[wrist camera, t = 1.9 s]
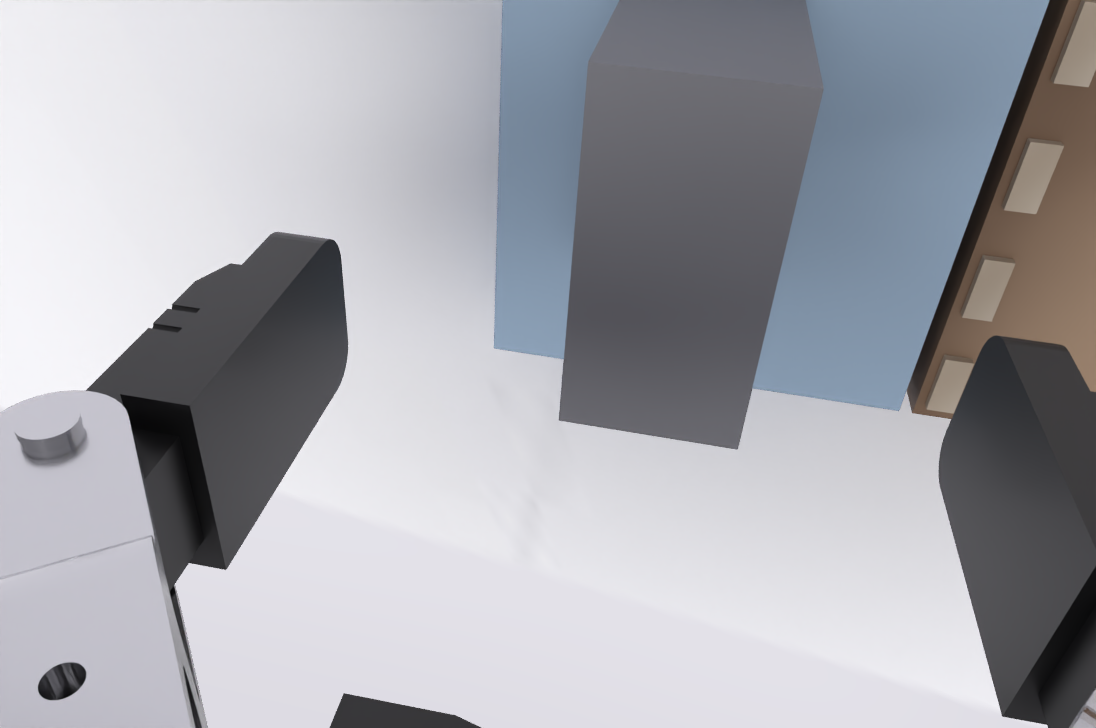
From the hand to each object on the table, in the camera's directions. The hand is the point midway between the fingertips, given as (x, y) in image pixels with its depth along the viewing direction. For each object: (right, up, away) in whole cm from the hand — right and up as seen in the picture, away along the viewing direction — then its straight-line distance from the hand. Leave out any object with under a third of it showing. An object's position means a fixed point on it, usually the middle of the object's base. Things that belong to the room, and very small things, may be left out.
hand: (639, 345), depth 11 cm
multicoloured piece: (+3, +5, +8) cm, 10 cm away
